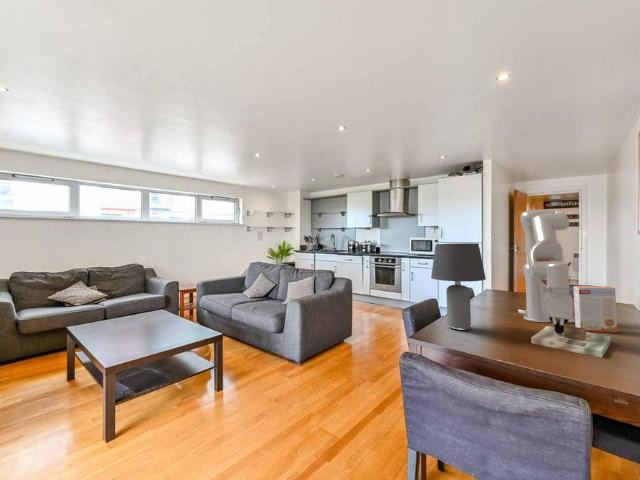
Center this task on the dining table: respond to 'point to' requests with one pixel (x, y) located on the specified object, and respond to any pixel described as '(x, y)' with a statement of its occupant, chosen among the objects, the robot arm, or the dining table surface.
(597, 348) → the plate
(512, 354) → the dining table surface
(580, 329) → the brown block
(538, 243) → the robot arm
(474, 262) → the lamp
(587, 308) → the cracker box
